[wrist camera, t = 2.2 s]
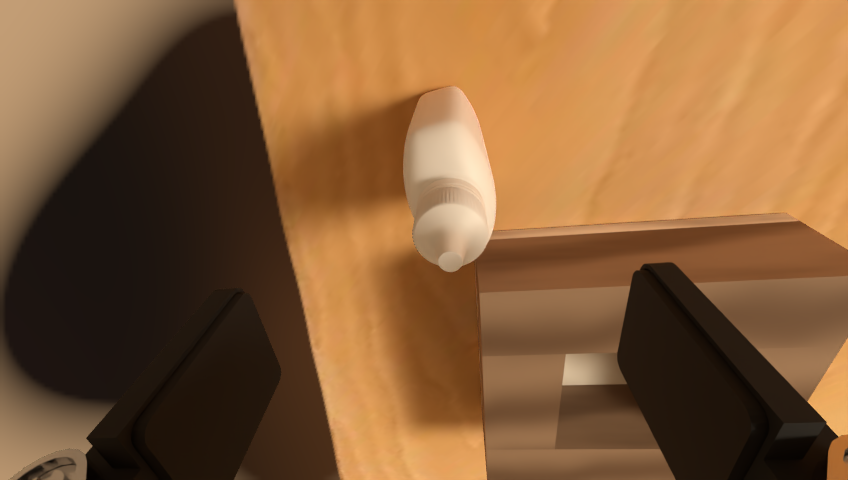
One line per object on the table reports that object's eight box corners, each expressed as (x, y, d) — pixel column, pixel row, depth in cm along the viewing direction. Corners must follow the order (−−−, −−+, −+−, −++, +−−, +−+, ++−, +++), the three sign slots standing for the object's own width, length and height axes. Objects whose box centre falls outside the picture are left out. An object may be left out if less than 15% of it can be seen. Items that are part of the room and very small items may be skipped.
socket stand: (473, 232, 24) (479, 292, 19) (786, 212, 22) (888, 274, 17) (481, 411, 33) (487, 484, 28) (703, 408, 31) (753, 486, 26)
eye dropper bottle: (402, 176, 22) (360, 317, 12) (423, 76, 19) (393, 149, 9) (473, 193, 23) (492, 345, 12) (505, 97, 20) (565, 192, 9)
